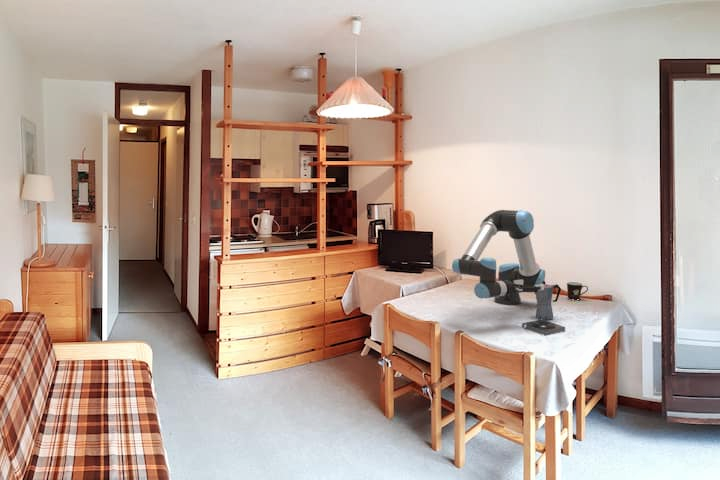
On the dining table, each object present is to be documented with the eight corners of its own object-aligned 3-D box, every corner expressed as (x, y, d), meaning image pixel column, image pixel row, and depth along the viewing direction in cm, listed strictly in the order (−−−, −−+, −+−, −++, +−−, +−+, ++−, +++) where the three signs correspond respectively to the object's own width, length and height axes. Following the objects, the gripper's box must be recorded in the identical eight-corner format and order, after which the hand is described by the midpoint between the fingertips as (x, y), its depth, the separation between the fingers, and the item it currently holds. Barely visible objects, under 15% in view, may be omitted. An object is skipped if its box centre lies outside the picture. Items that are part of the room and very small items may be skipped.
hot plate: (541, 323, 238) (542, 318, 238) (565, 330, 226) (565, 326, 226) (520, 327, 231) (520, 322, 231) (543, 335, 219) (543, 330, 219)
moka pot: (526, 315, 252) (528, 279, 249) (554, 314, 253) (556, 278, 250) (534, 320, 242) (536, 283, 240) (563, 320, 243) (565, 282, 241)
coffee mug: (565, 300, 285) (565, 284, 283) (567, 297, 292) (568, 281, 291) (585, 302, 279) (586, 286, 277) (587, 299, 286) (588, 283, 285)
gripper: (484, 290, 242) (514, 287, 252) (521, 301, 220) (552, 296, 230) (485, 276, 241) (515, 273, 251) (521, 285, 219) (553, 281, 229)
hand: (532, 284), depth 240 cm, fingers open, 13 cm apart
